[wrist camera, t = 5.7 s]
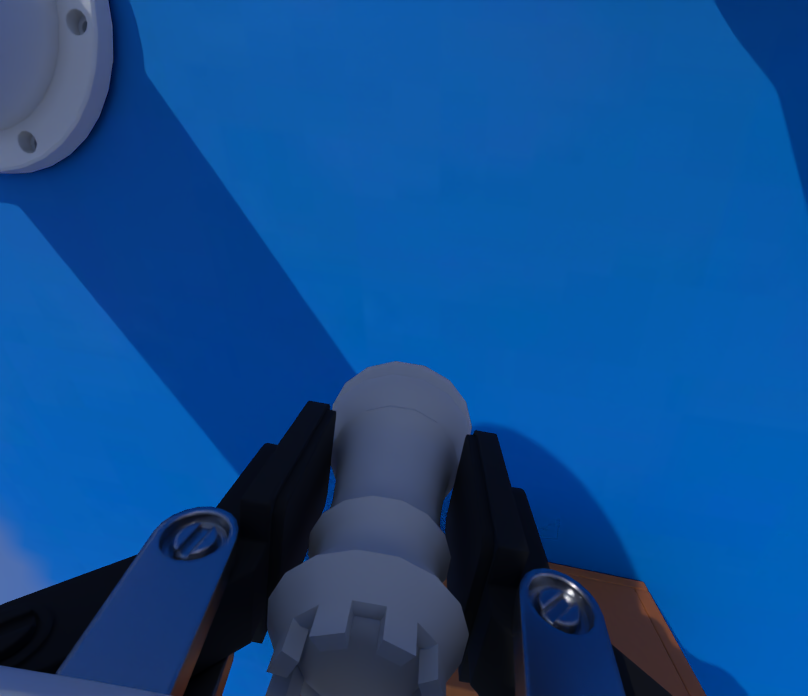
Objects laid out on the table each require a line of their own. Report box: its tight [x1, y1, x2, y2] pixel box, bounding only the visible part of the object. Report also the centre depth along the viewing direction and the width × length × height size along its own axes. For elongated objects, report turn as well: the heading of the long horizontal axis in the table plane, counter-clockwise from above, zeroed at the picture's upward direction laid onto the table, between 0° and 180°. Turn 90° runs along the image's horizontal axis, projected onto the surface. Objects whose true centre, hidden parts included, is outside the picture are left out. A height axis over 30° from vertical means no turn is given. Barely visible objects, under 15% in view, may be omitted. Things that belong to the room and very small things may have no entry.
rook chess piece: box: [265, 361, 472, 696], centre depth 9 cm, size 4×4×8 cm
